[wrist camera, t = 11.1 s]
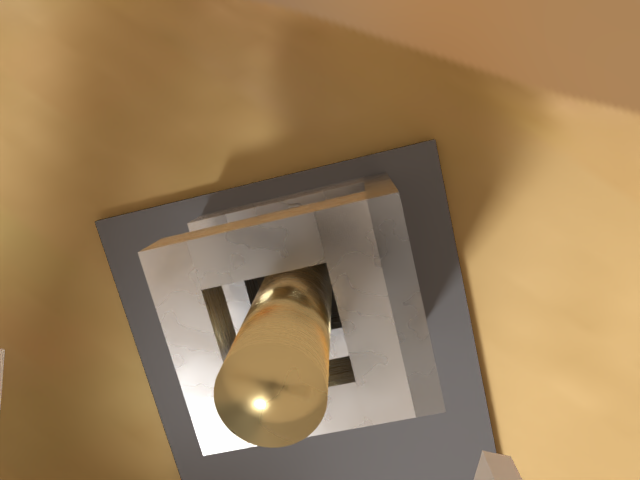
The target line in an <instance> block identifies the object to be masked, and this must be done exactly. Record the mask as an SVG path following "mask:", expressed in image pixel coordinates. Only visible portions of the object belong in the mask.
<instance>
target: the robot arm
mask: <svg viewBox="0 0 640 480" xmlns="http://www.w3.org/2000/svg"><path fill="white" fill-rule="evenodd" d="M4 354H5V349H1V348H0V408H1V395H2V381H3V368H4ZM474 480H522V478H521V476H520V474H519V472H518V470H517V468H516V466H515V464H514V462H513V460H512V458H511V456H506V455H502V454H497V453H492V452H488V451H483V450H482V453H481V457H480V460H479V463H478V467H477V470H476V473H475V477H474Z"/></svg>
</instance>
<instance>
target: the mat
mask: <svg viewBox="0 0 640 480" xmlns="http://www.w3.org/2000/svg"><path fill="white" fill-rule="evenodd" d="M385 171H386V173H387V174H388V176H389V177H390V179H391V180H392V182H393V183H394V185H395V187H396V188H397V190H398V191H399V194H400V199H401V204H402V208H403V213H404V218H405V222H406V227H407V232H408V236H409V241H410V246H411V250H412V255H413V260H414V265H415V269H416V274H417V279H418V283H419V288H420V293H421V297H422V302H423V307H424V311H425V316H426V321H427V325H428V330H429V335H430V339H431V344H432V349H433V354H434V358H435V363H436V368H437V372H438V377H439V382H440V386H441V391H442V396H443V400H444V405H445V410H446V412H444V413H438V414H433V415H427V416H422V417H416V418H411V419H405V420H399V421H394V422H388V423H383V424H377V425H372V426H366V427H360V428H355V429H349V430H344V431H338V432H333V433H327V434H322V435H316V436H310V437H306V438H305V439H303V440H301V441H299V442H297V443H295V444H292V445H289V446H285V447H278V448H269V447H261V446H255V447H249V448H244V449H238V450H232V451H227V452H221V453H216V454H210V455H205V456H203V453H202V450H201V447H200V444H199V441H198V438H197V435H196V432H195V429H194V426H193V422H192V419H191V416H190V413H189V410H188V407H187V404H186V401H185V398H184V395H183V392H182V388H181V385H180V382H179V379H178V376H177V373H176V370H175V367H174V364H173V361H172V357H171V354H170V351H169V348H168V345H167V342H166V339H165V336H164V333H163V330H162V327H161V323H160V320H159V317H158V314H157V311H156V308H155V305H154V302H153V299H152V296H151V292H150V289H149V286H148V283H147V280H146V277H145V274H144V271H143V268H142V265H141V261H140V258H139V255H138V252H139V251H141V250H142V249H144V248H146V247H148V246H149V245H151V244H153V243H154V242H156V241H158V240H160V239H161V238H166V237H170V236H174V235H178V234H183V233H187V232H189V228H188V225H187V223H189V222H190V221H192V220H194V219H196V218H197V217H199V216H201V215H204V214H208V213H212V212H216V211H221V210H225V209H229V208H233V207H238V206H242V205H246V204H250V203H254V202H259V201H263V200H267V199H271V198H276V197H280V196H284V195H288V194H292V193H297V192H301V191H305V190H309V189H314V188H318V187H322V186H326V185H330V184H335V183H339V182H343V181H347V180H352V179H356V178H360V177H364V176H368V175H373V174H377V173H381V172H385ZM95 224H96V227H97V230H98V233H99V236H100V239H101V242H102V245H103V248H104V251H105V254H106V257H107V260H108V263H109V266H110V269H111V272H112V275H113V278H114V281H115V284H116V287H117V290H118V293H119V296H120V299H121V302H122V305H123V308H124V311H125V314H126V317H127V319H128V322H129V325H130V328H131V331H132V334H133V337H134V340H135V343H136V346H137V349H138V352H139V355H140V358H141V361H142V364H143V367H144V370H145V373H146V376H147V379H148V382H149V385H150V388H151V391H152V394H153V397H154V400H155V403H156V406H157V409H158V412H159V415H160V418H161V421H162V424H163V427H164V430H165V433H166V436H167V439H168V442H169V444H170V447H171V450H172V453H173V456H174V459H175V462H176V465H177V468H178V471H179V474H180V477H181V480H474V477H475V473H476V470H477V467H478V463H479V460H480V457H481V453H482V450H483V451H488V452H492V453H496V448H495V443H494V438H493V433H492V428H491V423H490V417H489V412H488V407H487V402H486V397H485V392H484V387H483V382H482V377H481V371H480V366H479V361H478V356H477V351H476V346H475V341H474V336H473V330H472V325H471V320H470V315H469V310H468V305H467V300H466V295H465V289H464V284H463V279H462V274H461V269H460V264H459V259H458V254H457V248H456V243H455V238H454V233H453V228H452V223H451V218H450V213H449V207H448V202H447V197H446V192H445V187H444V182H443V177H442V172H441V167H440V161H439V156H438V151H437V146H436V141H435V140H434V139H433V140H429V141H425V142H421V143H417V144H413V145H408V146H404V147H400V148H396V149H392V150H388V151H384V152H379V153H375V154H371V155H367V156H363V157H359V158H355V159H350V160H346V161H342V162H338V163H334V164H330V165H326V166H321V167H317V168H313V169H309V170H305V171H301V172H297V173H292V174H288V175H284V176H280V177H276V178H272V179H268V180H263V181H259V182H255V183H251V184H247V185H243V186H239V187H234V188H230V189H226V190H222V191H218V192H214V193H210V194H205V195H201V196H197V197H193V198H189V199H185V200H181V201H176V202H172V203H168V204H164V205H160V206H156V207H152V208H147V209H143V210H139V211H135V212H131V213H127V214H123V215H118V216H114V217H110V218H106V219H102V220H98V221H95ZM264 278H265V276H263V277H259V278H256V279H257V282H258V286H259V288H260V286H261V284H262V282H263V280H264ZM333 312H338V308H337V304H336V300H335V296H334V292H333V288H332V305H331V313H333Z"/></svg>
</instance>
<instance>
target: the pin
mask: <svg viewBox="0 0 640 480" xmlns="http://www.w3.org/2000/svg"><path fill="white" fill-rule="evenodd" d="M331 305H332V284H331V280H330V276H329V272H328V268H327V264H326V263H323V264H318V265H313V266H309V267H304V268H300V269H295V270H291V271H286V272H282V273H277V274H272V275H268V276H265V278H264V280H263V282H262V284H261V286H260V288H259V290H258V292H257V294H256V297H255V299H254V301H253V303H252V305H251V307H250V309H249V311H248V313H247V315H246V317H245V319H244V321H243V323H242V325H241V327H240V329H239V331H238V333H237V336H236V338H235V340H234V342H233V344H232V346H231V348H230V350H229V352H228V354H227V356H226V358H225V360H224V362H223V364H222V366H221V368H220V370H219V373H218V375H217V377H216V380H215V385H214V403H215V407H216V410H217V412H218V415H219V417H220V418H221V420H222V422H223V423H224V424H225V426H226V427H227V428H228V429H229V430H230V431H231V432H232V433H233V434H235V435H236V436H237V437H239V438H240V439H242V440H244V441H246V442H248V443H251V444H253V445H257V446H261V447H269V448H278V447H285V446H289V445H292V444H295V443H297V442H299V441H301V440H303V439H305V438H306V437H308V436H309V435H310V434H311V433H312V432H313V431H314V430H315V429H316V428H317V427H318V426H319V424H320V422H321V421H322V419H323V417H324V414H325V412H326V408H327V400H328V378H329V353H330V329H331Z"/></svg>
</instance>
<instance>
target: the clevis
mask: <svg viewBox="0 0 640 480" xmlns="http://www.w3.org/2000/svg"><path fill="white" fill-rule="evenodd" d="M187 225H188V228H189V232H187V233H183V234H178V235H174V236H170V237H166V238H161V239H160V240H158V241H156V242H154V243H153V244H151V245H149V246H148V247H146V248H144V249H142V250H141V251H139V252H138V255H139V258H140V261H141V265H142V268H143V271H144V274H145V277H146V280H147V283H148V286H149V289H150V292H151V296H152V299H153V302H154V305H155V308H156V311H157V314H158V317H159V320H160V323H161V327H162V330H163V333H164V336H165V339H166V342H167V345H168V348H169V351H170V354H171V357H172V361H173V364H174V367H175V370H176V373H177V376H178V379H179V382H180V385H181V388H182V392H183V395H184V398H185V401H186V404H187V407H188V410H189V413H190V416H191V419H192V422H193V426H194V429H195V432H196V435H197V438H198V441H199V444H200V447H201V450H202V453H203V456H205V455H210V454H216V453H221V452H227V451H232V450H238V449H244V448H249V447H255V446H257V445H253V444H251V443H248V442H246V441H244V440H242V439H240V438H239V437H237V436H236V435H235V434H233V433H232V432H231V431H230V430H229V429H228V428H227V427H226V426H225V424H224V423H223V422H222V420H221V418H220V417H219V415H218V412H217V410H216V407H215V403H214V385H215V380H216V377H217V375H218V373H219V370H220V368H221V366H222V364H223V362H224V360H225V358H226V356H227V354H228V352H229V350H230V348H231V346H232V344H233V342H234V340H235V338H236V336H237V333H238V331H239V329H240V327H241V325H242V323H243V321H244V319H245V317H246V315H247V313H248V311H249V309H250V307H251V305H252V303H253V301H254V299H255V297H256V294H257V292H258V290H259V286H258V282H257V279H256V278H259V277H263V276H268V275H272V274H277V273H282V272H286V271H291V270H295V269H300V268H304V267H309V266H313V265H318V264H323V263H326V264H327V268H328V272H329V276H330V280H331V284H332V288H333V292H334V296H335V300H336V304H337V308H338V312H333V313H331V329H330V353H329V378H328V400H327V408H326V412H325V414H324V417H323V419H322V421H321V422H320V424H319V426H318V427H317V428H316V429H315V430H314V431H313V432H312V433H311V434H310V435H309V436H308V437H310V436H316V435H322V434H327V433H333V432H338V431H344V430H349V429H355V428H360V427H366V426H372V425H377V424H383V423H388V422H394V421H399V420H405V419H411V418H416V417H422V416H427V415H433V414H438V413H444V412H446V410H445V405H444V400H443V396H442V391H441V386H440V382H439V377H438V372H437V368H436V363H435V358H434V354H433V349H432V344H431V339H430V335H429V330H428V325H427V321H426V316H425V311H424V307H423V302H422V297H421V293H420V288H419V283H418V279H417V274H416V269H415V265H414V260H413V255H412V250H411V246H410V241H409V236H408V232H407V227H406V222H405V218H404V213H403V208H402V204H401V199H400V194H399V191H398V190H397V188H396V187H395V185H394V183H393V182H392V180H391V179H390V177H389V176H388V174H387V173H386V171H385V172H381V173H377V174H373V175H368V176H364V177H360V178H356V179H352V180H347V181H343V182H339V183H335V184H330V185H326V186H322V187H318V188H314V189H309V190H305V191H301V192H297V193H292V194H288V195H284V196H280V197H276V198H271V199H267V200H263V201H259V202H254V203H250V204H246V205H242V206H238V207H233V208H229V209H225V210H221V211H216V212H212V213H208V214H204V215H201V216H199V217H197V218H196V219H194V220H192V221H190V222H189V223H187Z"/></svg>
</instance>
